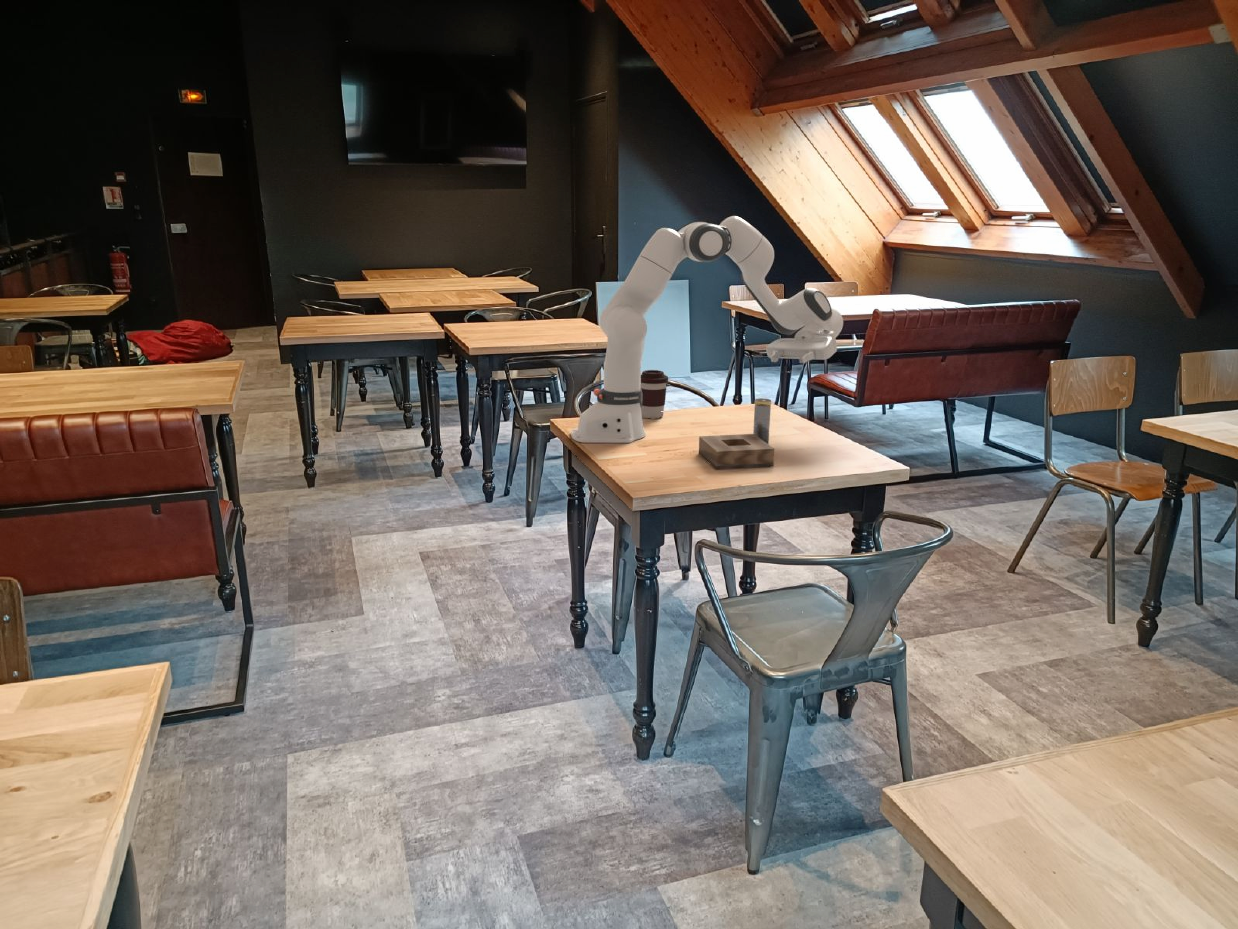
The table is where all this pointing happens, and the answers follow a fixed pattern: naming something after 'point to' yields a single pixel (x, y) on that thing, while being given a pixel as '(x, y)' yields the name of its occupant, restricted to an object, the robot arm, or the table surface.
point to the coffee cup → (653, 393)
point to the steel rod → (762, 419)
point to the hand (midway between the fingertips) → (786, 360)
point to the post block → (736, 451)
